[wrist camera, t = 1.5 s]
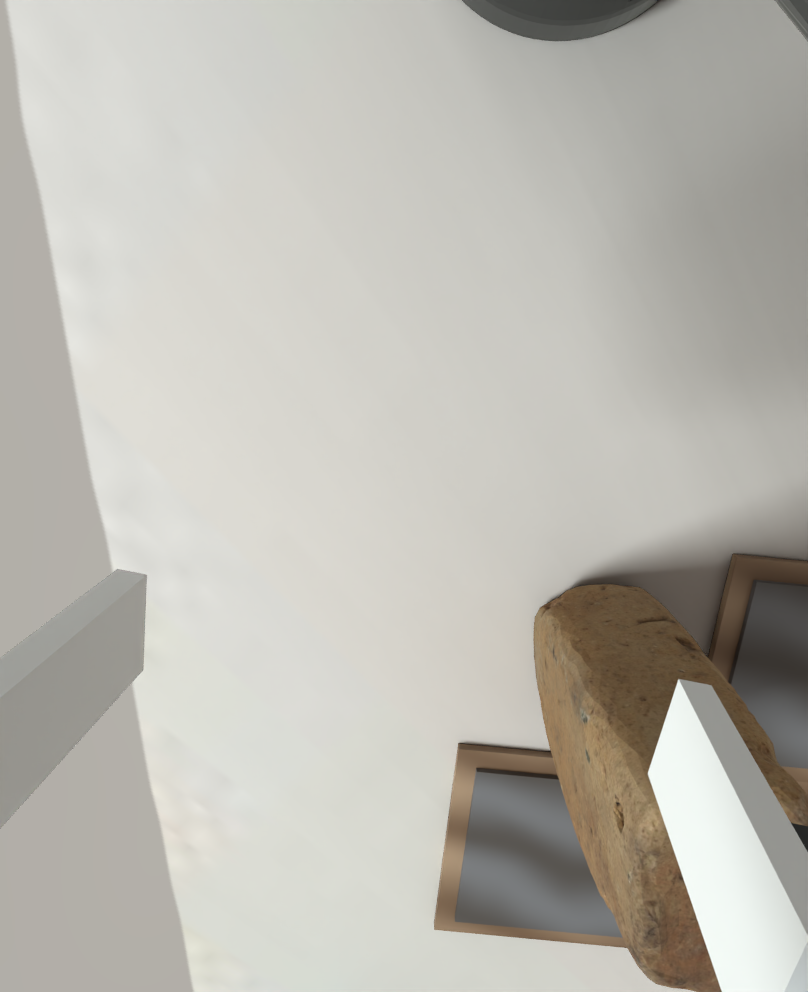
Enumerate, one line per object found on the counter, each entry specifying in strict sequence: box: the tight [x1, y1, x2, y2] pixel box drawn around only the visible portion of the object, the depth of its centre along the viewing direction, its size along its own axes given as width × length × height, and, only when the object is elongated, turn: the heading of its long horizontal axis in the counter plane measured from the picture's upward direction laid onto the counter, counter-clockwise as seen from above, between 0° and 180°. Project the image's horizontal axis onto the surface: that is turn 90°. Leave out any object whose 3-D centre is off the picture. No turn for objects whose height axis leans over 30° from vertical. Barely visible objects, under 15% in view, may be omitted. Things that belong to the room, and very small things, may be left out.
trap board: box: [434, 554, 808, 948], centre depth 44 cm, size 30×30×1 cm
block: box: [534, 584, 808, 992], centre depth 33 cm, size 11×8×20 cm
